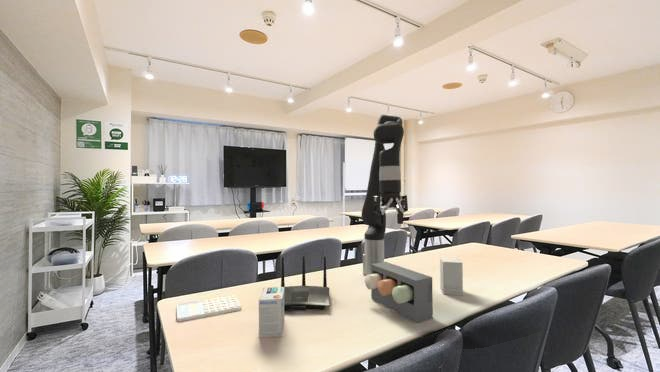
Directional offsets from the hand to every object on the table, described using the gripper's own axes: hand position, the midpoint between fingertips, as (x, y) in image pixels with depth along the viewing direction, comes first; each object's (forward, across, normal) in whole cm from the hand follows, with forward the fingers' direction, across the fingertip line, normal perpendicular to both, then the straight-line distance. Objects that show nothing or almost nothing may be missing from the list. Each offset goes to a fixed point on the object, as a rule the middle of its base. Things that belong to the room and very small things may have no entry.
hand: (391, 224), depth 108 cm
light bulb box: (+28, -43, +5) cm, 52 cm away
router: (+28, -27, +20) cm, 44 cm away
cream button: (+23, -5, +4) cm, 24 cm away
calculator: (+28, -57, +31) cm, 71 cm away
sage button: (+23, -5, -11) cm, 26 cm away
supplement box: (+29, +29, -2) cm, 41 cm away
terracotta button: (+23, -5, -3) cm, 24 cm away
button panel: (+29, 0, -3) cm, 29 cm away
